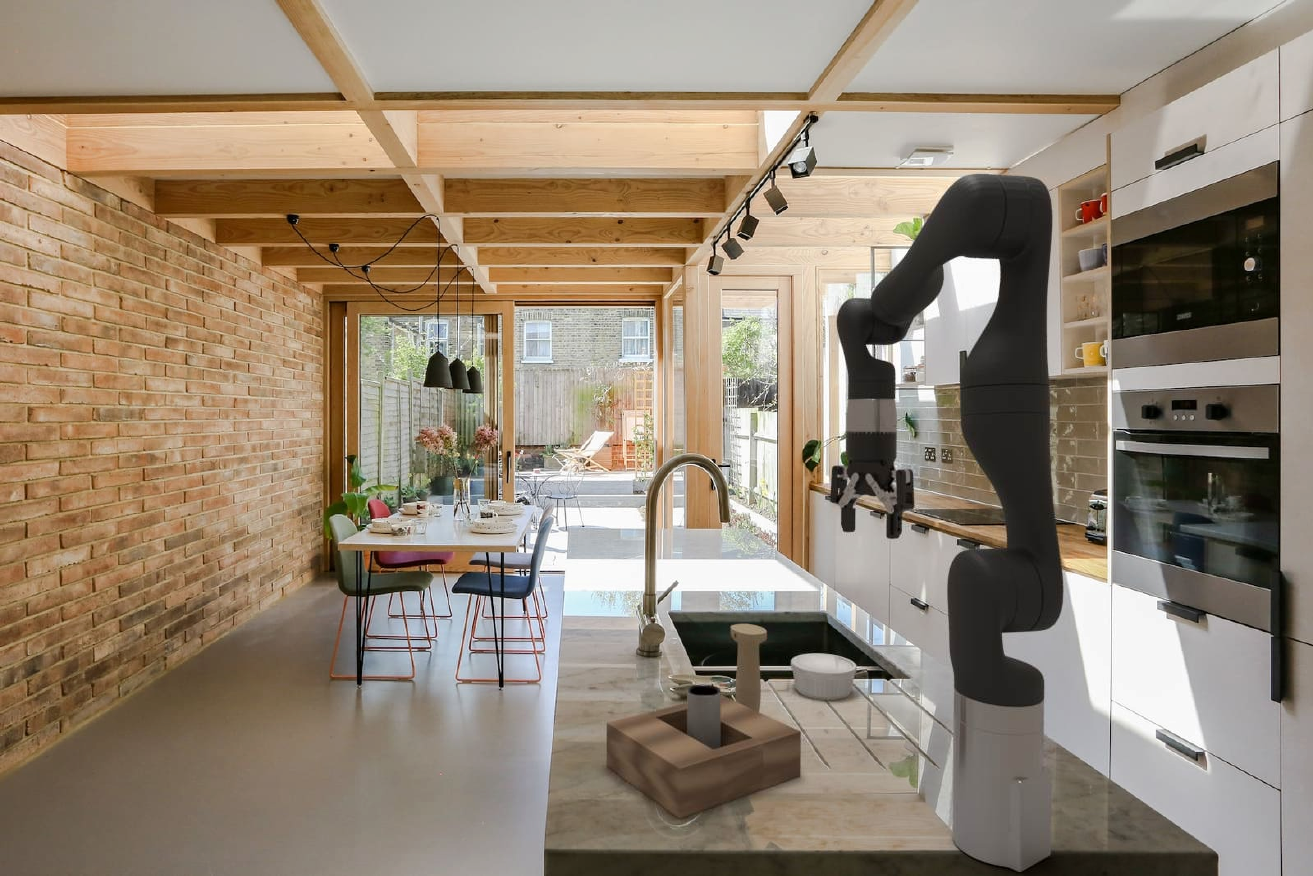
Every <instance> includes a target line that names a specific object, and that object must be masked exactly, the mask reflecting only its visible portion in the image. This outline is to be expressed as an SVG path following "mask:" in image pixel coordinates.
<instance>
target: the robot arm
mask: <svg viewBox="0 0 1313 876" xmlns="http://www.w3.org/2000/svg"><path fill="white" fill-rule="evenodd" d="M1053 222H1054V221H1053V205H1052V199H1051V195H1050V192H1049V189H1048V187H1047V185H1046V184H1045V183H1044V182H1043V181H1042V180H1041V179H1039V178H1036V177H1032V176H1025V175H1010V174H1009V175H1008V174H995V173H994V174H993V173H992V174H990V173H972V174H966V175H963V176H961V177H959V178H958V179H957V180H955V181H954V182H953V183H951V185H950V186H949V188H947V190H946V191H944V193H943V195H942V196H941V198H940V199H939V200H938V202H937V203H936V205H935V207H934V208H933V210H932V211H931V213H930V215H929V216H928V218H926V221H925V222H924V223H923V226H922V227H921V228H920V231H919V232H918V234H917V235H916V237H915V239H914V240H913V242H912V243H911V246H910V247H909V249H908V251H906V254H904V256H903V258H902V259H901V260H900V261H899V262H898V264H896V265H895V266H894V267H893V269H892V270H890V271H889V273H887V274H886V275H885V276H884V278H883V279H881V280H880V281H879V282H878V283H877V285H875V287H874V289H873V291H872V292H871V295H870V296H871V297H869V298H866V297H852V298H848V299H846V301H844V302H843V303H842V304H841V306H840V307H839V309H838V312H837V315H836V330H837V334H838V335H837V336H838V339H839V342H840V345H841V348H842V352H843V357H844V360H845V367H846V370H847V382H848V383H847V399H848V400H847V407H846V413H845V458H846V460H847V461H848V465H845V464H842V465H841V464H838V465H833V466H832V467H831V477H830V478H831V480H830V481H831V482H830V493H829V494H830V498H829V499H830V502H831V503H832V504H836V505H838V506H839V508H840V525H841V528H842V532H844V533H854V532H855V531H856V509H857V508H855V506H856V504H857V502H858V501H859V500H860V498H862V497H863V496H870V497H876V498H877V500H878V501H879V502H881V504H883V506H884V508H885V509H886V512H887V513H886V520H885V521H886V527H885V528H886V535H885V536H886V538H887V539H890V540H895V539H899V538H900V537H901V535H902V532H903V514H904V512H906V511H909V510H912V511H913V510H914V508H915V486H914V485H915V483H914V471H913V469H910V468H904V469H903V468H902V469H897V470H896V467H895V465H894V464H895V461H896V459H897V454H898V453H897V452H898V451H897V449H898V448H897V447H898V444H897V442H898V441H897V440H898V426H897V425H898V412H897V405H896V393H897V392H896V386H897V385H896V379H897V377H896V375H897V374H896V367H895V365H894V364H893V363H892V362H890V361H887V360H883V359H880V358H876V357H874V356H873V355H872V354H871V353H870V351H869V348H868V347H867V346H891V345H895V344H897V343H900V342H901V341H902V340H904V339H905V338H906V336H907V334H908V332H909V329H910V327H911V325H912V323H913V321H914V319H915V318H916V316H918V315H919V314H920V313H922V312H923V311H924V310H925V309H927V308H928V307H929V306H930V305H931V304H932V303H933V302H934V301H935V300H936V299H937V297H938V296H939V294H940V293H941V291H942V288H943V286H944V281H945V272H944V271H945V270H944V266H943V265H945V264H946V263H948V262H950V261H952V260H954V259H956V258H959V257H964V258H968V259H980V260H981V259H984V260H998V262H999V286H998V287H999V288H998V296H997V301H996V305H995V307H994V310H993V313H992V314H991V317H990V319H989V320H988V322H987V323H986V326H985V327H984V329H983V330H982V332H981V334H980V335H979V337H978V338H977V340H976V342H975V343H974V345H973V347H972V349H971V350H970V352H969V353H968V356H967V357H966V360H965V361H964V365H962V366H963V367H962V369H961V373H960V378H959V407H960V408H959V409H960V428H961V433H962V436H963V439H964V441H965V443H966V445H967V447H968V449H969V452H970V453H971V454H972V456H973V458H974V460H975V461H976V463H977V464H978V466H979V467H980V469H981V470H982V472H983V473H984V474H985V476H986V478H987V479H988V480H989V482H990V484H991V486H992V487H993V488H994V491H995V492H996V493H995V494H996V495H997V497H998V499H999V501H1000V504H1001V508H1002V511H1003V517H1004V523H1005V530H1006V534H1005V535H1006V547H1003V548H1002V547H1001V548H1000V547H999V548H996V547H995V548H973V549H966V550H962V551H960V552H958V553H957V554H956V555H955V556H954V558H953V560H952V562H951V563H950V566H949V570H948V575H947V586H946V590H947V591H946V592H947V593H946V595H947V597H946V599H947V615H948V640H949V643H948V645H949V647H948V648H949V649H948V650H949V657H950V662H951V667H952V671H953V727H952V728H953V729H952V730H953V731H952V732H953V733H952V735H953V738H952V739H953V740H952V741H953V742H952V743H953V744H952V747H953V748H952V814H951V816H952V818H951V819H952V822H951V823H952V825H951V826H952V830H951V832H952V834H951V836H952V840H953V843H954V844H955V846H957V847H958V849H960V850H961V851H962V852H964V853H965V854H966V855H968V856H970V857H972V858H974V859H976V860H979V861H981V862H983V863H987V864H991V865H994V866H999V867H1006V868H1009V869H1012V870H1014V871H1015V872H1019V873H1022V872H1023V871H1025V870H1026V869H1028V868H1029V869H1030V867H1032V866H1034V865H1035V864H1037V863H1039V862H1041V861H1042V860H1044V859H1046V858H1048V857H1050V856H1051V851H1052V849H1051V846H1052V843H1051V842H1052V840H1051V839H1052V837H1051V836H1052V786H1053V785H1052V782H1053V781H1052V780H1053V779H1052V778H1053V776H1052V774H1053V772H1052V769H1051V768H1050V767H1048V766H1047V767H1046V766H1045V765H1044V748H1045V747H1044V742H1045V741H1044V740H1045V739H1044V734H1045V729H1044V728H1045V726H1044V725H1045V678H1044V675H1043V674H1042V672H1041V671H1040V670H1039V669H1038V668H1037V667H1035V666H1034V665H1031V664H1030V663H1028V662H1026V661H1023V660H1020V659H1017V658H1014V657H1011V656H1008V655H1006V654H1005V651H1004V645H1003V644H1004V642H1003V634H1005V633H1006V634H1010V633H1031V632H1032V633H1033V632H1042V631H1046V630H1048V629H1051V628H1052V627H1053V626H1055V625H1056V623H1057V622H1058V620H1059V618H1060V616H1061V614H1062V610H1063V604H1064V575H1063V567H1062V559H1061V558H1062V557H1061V552H1060V551H1061V550H1060V543H1059V537H1058V531H1057V530H1058V529H1057V522H1056V514H1055V507H1054V497H1053V495H1054V494H1053V481H1052V479H1053V478H1052V461H1051V460H1052V459H1051V456H1052V455H1051V398H1050V396H1051V395H1050V392H1051V391H1050V375H1049V374H1050V373H1049V360H1048V359H1049V358H1048V357H1049V356H1048V294H1049V293H1048V292H1049V291H1048V290H1049V277H1050V264H1051V263H1050V262H1051V253H1052V239H1053V236H1052V235H1053ZM848 479H849V482H848ZM893 483H895V485H894V484H893ZM895 486H896V487H895Z"/></svg>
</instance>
